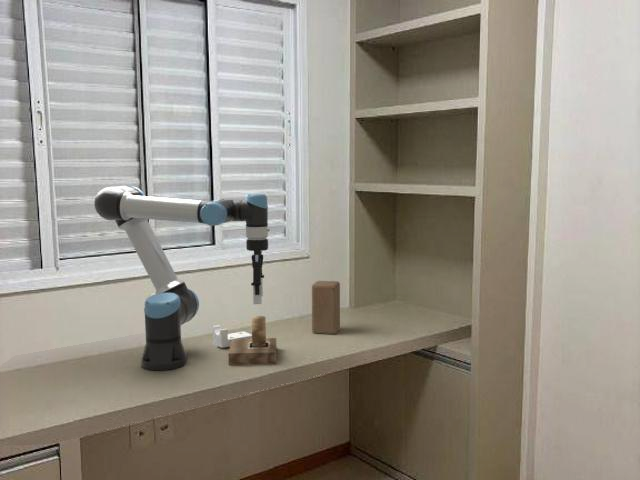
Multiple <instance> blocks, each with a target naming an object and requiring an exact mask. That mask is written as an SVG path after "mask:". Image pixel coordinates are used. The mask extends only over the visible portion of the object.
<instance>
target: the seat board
mask: <svg viewBox="0 0 640 480" xmlns="http://www.w3.org/2000/svg"><path fill="white" fill-rule="evenodd" d="M252 344H253V343H252V338H250V339H232V343H231V346H229V350H228V353H227V354H228V358H227V359H228V365H229V366H236V365H237V366H238V365H239V366H240V365H242V366H244V365H245V366H246V365H273V364H274V365H276V364H277V337H266V343H265V344H266V347H262V348H253V347H252Z"/></svg>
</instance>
